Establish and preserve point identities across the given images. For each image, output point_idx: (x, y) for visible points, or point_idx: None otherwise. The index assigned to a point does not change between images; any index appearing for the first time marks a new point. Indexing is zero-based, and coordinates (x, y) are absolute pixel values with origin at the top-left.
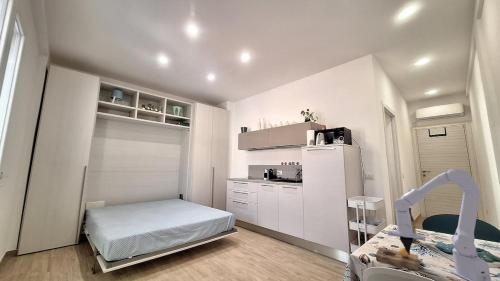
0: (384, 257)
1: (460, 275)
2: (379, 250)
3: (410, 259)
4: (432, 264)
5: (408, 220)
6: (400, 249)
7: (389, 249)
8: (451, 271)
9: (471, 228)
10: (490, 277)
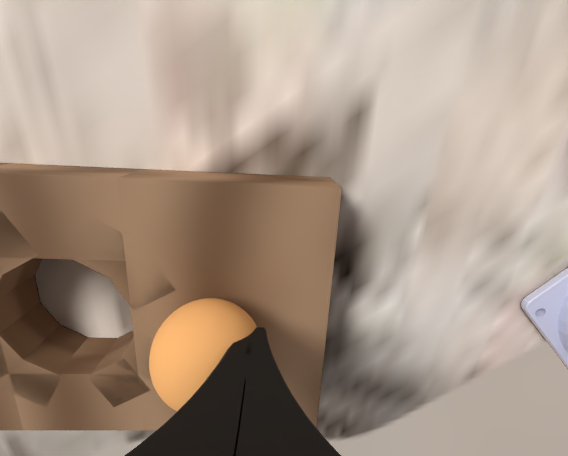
0: (57, 426)
1: (563, 352)
2: None
3: None
4: (432, 209)
5: None
6: (161, 397)
7: (24, 177)
8: (531, 317)
9: None
10: None
